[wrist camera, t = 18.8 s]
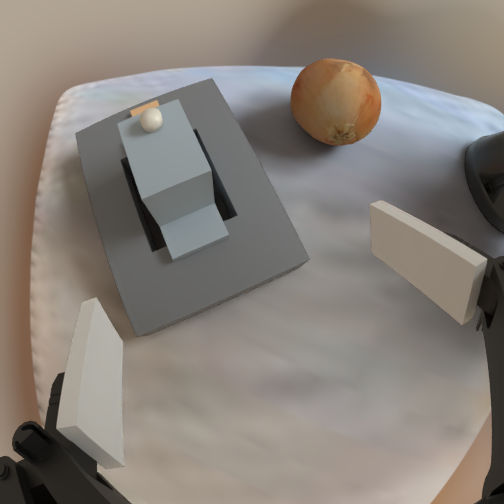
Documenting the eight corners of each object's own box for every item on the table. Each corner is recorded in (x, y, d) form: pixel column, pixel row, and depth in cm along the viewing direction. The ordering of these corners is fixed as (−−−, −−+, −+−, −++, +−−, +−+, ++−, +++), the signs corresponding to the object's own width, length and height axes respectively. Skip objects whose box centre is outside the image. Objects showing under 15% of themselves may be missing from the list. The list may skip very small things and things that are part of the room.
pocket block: (299, 267, 31) (311, 257, 26) (148, 335, 28) (134, 336, 24) (212, 100, 34) (212, 74, 30) (88, 151, 32) (73, 130, 27)
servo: (228, 248, 31) (229, 202, 19) (181, 269, 30) (153, 235, 18) (181, 143, 33) (165, 67, 21) (139, 161, 32) (106, 91, 20)
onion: (295, 165, 33) (319, 110, 23) (275, 97, 35) (289, 37, 25) (372, 159, 34) (412, 112, 25) (346, 95, 36) (373, 43, 27)
